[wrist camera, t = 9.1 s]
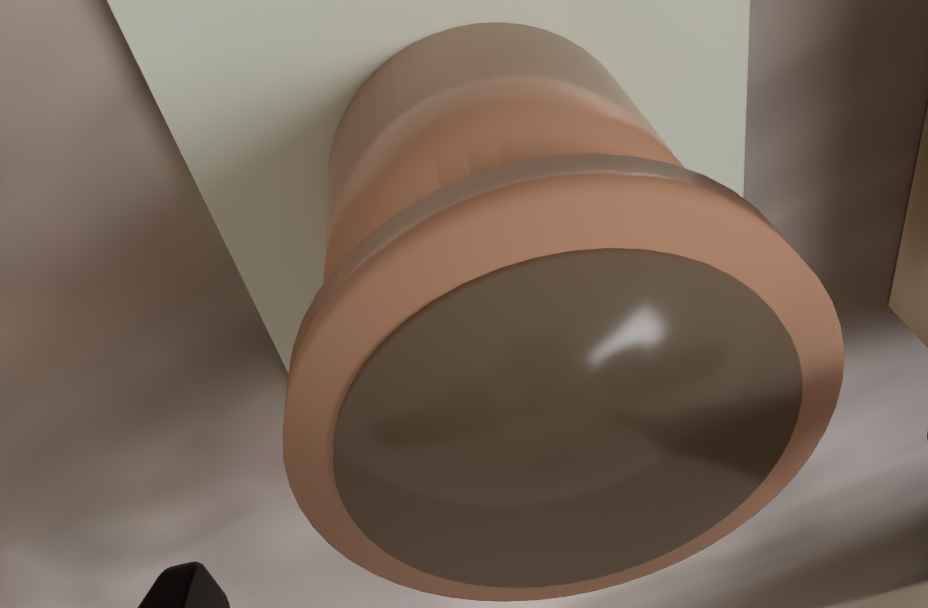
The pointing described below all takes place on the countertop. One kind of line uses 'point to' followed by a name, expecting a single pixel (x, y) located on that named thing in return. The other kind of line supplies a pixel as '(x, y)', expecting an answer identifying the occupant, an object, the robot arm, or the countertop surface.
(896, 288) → the cold frame
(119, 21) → the sage tile
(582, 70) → the terracotta pot
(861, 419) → the countertop surface
